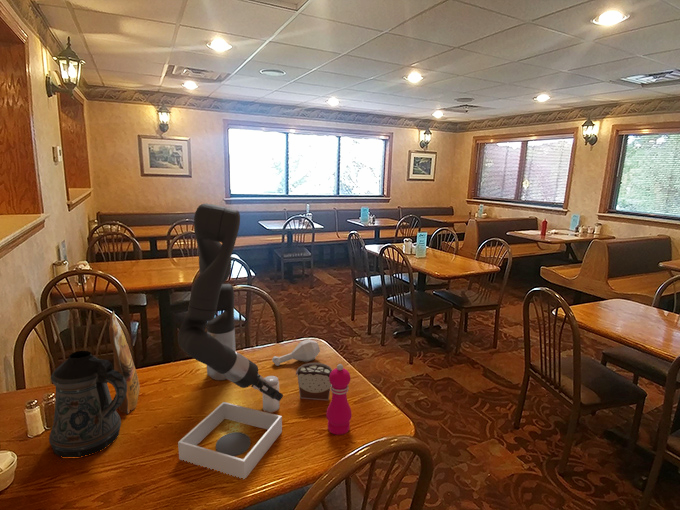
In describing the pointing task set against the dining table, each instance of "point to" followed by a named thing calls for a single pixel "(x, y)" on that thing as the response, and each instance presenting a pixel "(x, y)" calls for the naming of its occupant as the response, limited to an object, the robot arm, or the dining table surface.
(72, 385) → the beer stein
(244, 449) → the coaster
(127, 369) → the pancake mix bag
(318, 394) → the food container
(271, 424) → the grey square frame
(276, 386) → the sugar shaker
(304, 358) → the chicken leg
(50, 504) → the dining table surface
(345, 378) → the pepper mill
